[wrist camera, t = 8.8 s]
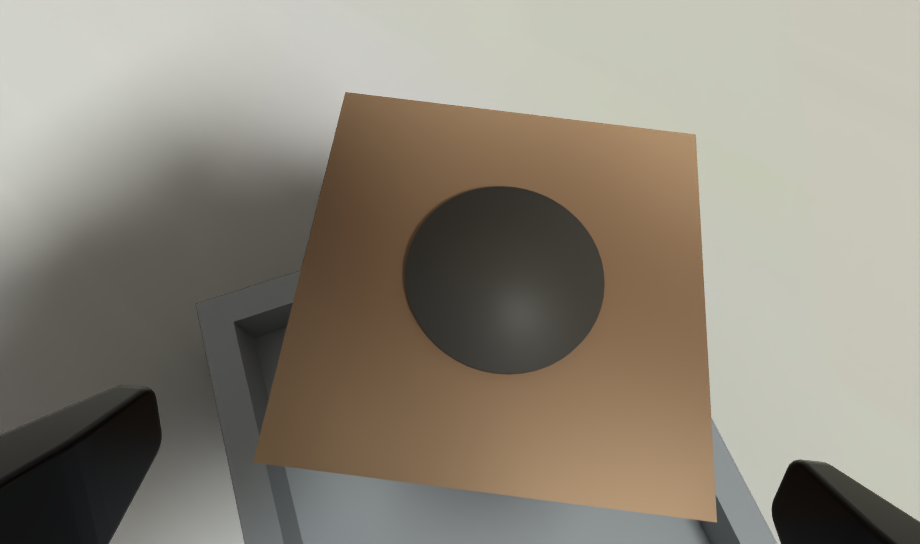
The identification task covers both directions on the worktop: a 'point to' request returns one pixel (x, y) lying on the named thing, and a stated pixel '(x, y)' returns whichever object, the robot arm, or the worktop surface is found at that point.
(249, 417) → the tray
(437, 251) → the walnut block
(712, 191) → the worktop surface
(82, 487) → the robot arm
